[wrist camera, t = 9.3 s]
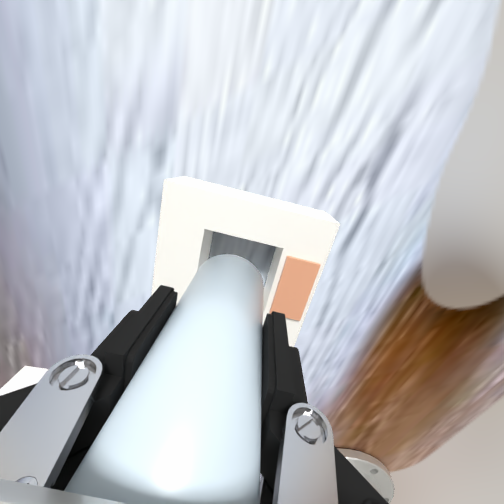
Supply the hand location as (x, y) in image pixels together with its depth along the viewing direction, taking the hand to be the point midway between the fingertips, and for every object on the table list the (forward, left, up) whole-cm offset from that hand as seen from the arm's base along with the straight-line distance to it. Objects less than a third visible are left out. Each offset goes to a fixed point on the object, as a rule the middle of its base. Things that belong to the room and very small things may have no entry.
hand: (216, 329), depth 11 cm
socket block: (-4, +3, -10) cm, 11 cm away
